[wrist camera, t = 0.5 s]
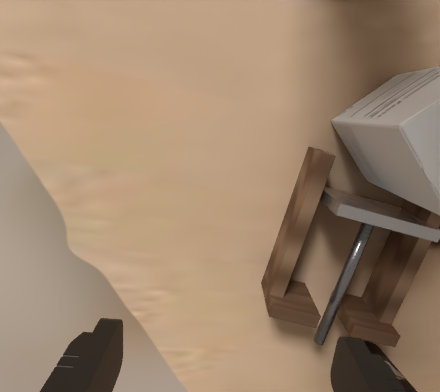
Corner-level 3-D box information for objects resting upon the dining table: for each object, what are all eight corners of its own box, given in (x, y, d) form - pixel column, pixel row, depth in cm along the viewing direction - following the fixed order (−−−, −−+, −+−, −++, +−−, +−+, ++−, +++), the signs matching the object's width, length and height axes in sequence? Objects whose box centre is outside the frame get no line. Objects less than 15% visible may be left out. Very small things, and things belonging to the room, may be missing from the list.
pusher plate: (316, 184, 38) (340, 203, 30) (398, 206, 39) (442, 231, 31) (270, 308, 43) (281, 353, 35) (345, 326, 43) (372, 374, 36)
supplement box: (434, 139, 37) (570, 159, 23) (366, 182, 39) (452, 227, 24) (398, 71, 35) (522, 45, 21) (328, 119, 37) (397, 126, 22)
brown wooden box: (308, 146, 37) (328, 155, 31) (426, 180, 38) (470, 195, 32) (261, 283, 42) (269, 316, 35) (367, 309, 43) (394, 346, 36)
